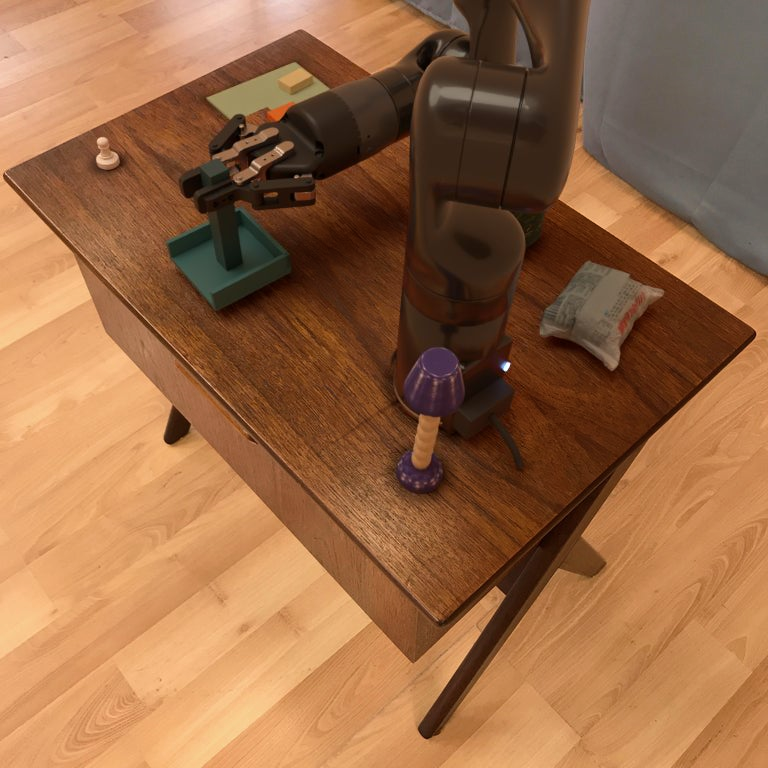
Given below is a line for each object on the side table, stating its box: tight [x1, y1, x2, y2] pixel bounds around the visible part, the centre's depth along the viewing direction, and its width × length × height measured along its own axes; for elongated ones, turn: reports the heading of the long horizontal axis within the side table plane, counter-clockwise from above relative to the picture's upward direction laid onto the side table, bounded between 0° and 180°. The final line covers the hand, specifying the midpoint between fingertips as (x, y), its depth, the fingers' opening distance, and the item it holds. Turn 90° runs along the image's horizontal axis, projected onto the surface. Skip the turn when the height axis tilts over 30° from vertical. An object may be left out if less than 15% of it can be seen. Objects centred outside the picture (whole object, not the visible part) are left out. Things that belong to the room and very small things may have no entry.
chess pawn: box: [95, 136, 121, 171], centre depth 93 cm, size 3×3×4 cm
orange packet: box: [266, 102, 296, 122], centre depth 100 cm, size 2×4×1 cm, turn 128°
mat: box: [206, 61, 331, 121], centre depth 102 cm, size 14×14×1 cm
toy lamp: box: [395, 347, 465, 494], centre depth 64 cm, size 5×5×17 cm
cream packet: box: [278, 67, 314, 95], centre depth 104 cm, size 2×4×1 cm, turn 136°
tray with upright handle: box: [165, 158, 292, 312], centre depth 77 cm, size 9×9×13 cm
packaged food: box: [538, 260, 665, 372], centre depth 80 cm, size 9×12×5 cm
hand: (189, 196), depth 72 cm, fingers closed on tray with upright handle
